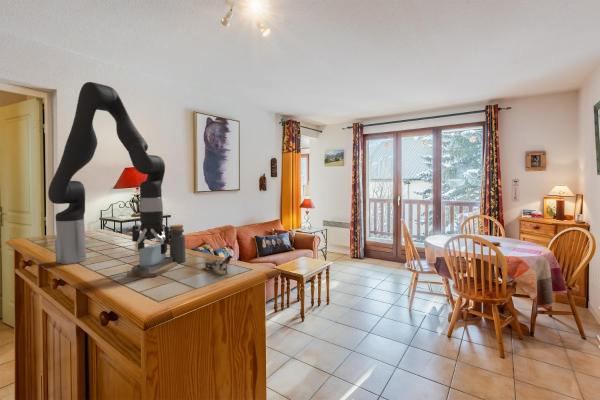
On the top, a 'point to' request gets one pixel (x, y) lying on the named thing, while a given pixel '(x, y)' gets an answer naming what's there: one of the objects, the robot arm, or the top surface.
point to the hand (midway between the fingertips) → (152, 253)
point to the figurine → (220, 263)
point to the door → (150, 255)
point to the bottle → (177, 244)
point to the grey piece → (153, 268)
